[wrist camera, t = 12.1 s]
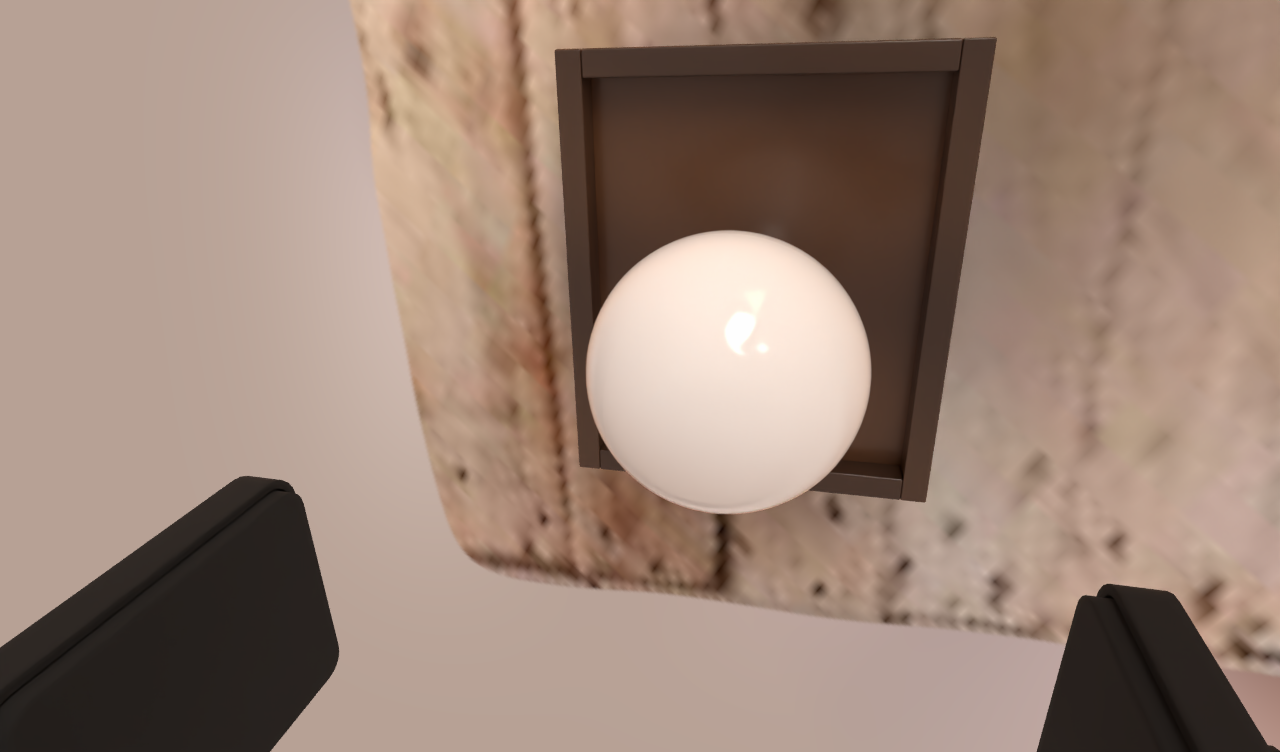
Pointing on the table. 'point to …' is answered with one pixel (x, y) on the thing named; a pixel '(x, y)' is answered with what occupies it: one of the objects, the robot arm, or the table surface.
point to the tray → (788, 198)
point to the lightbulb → (728, 372)
